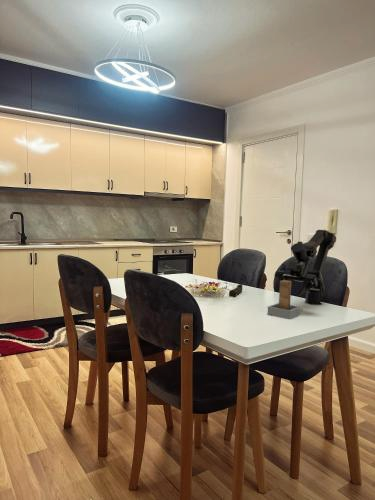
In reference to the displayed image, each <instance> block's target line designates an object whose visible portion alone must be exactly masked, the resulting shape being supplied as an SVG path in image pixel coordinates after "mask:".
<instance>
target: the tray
mask: <svg viewBox="0 0 375 500" xmlns="http://www.w3.org/2000/svg"><path fill="white" fill-rule="evenodd" d="M301 308H302V307H301V306H299V305H291V304H290V310H285V309H280V308H279V302H277V303H275V304H271V305H269V306H267V316H271V317H272V316H273V317H278V318H283V319H288V320H292V319H294V318H296V317H298V316H301V311H302V310H301Z"/></svg>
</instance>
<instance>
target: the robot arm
mask: <svg viewBox="0 0 375 500" xmlns="http://www.w3.org/2000/svg"><path fill="white" fill-rule="evenodd" d="M336 242H337V236H336V235H335V234H334V233H332V232H330V231H328V230H327V229H317V230H316V231H315V233H314V234H313V236H312V237H311V238H310V239H309V240H308V241H307V242H303V241H299V240H298V241H297V242H296V243H294V244H292V245H291V247H290V251H291V253H292V255H293V258H294V260H296V261H288V263H287V266H286V269H287V270H288V273H289V274H286V272H285V271H284V270H276V271H275V272H274V277H275V279H276V281H277V282H278V286H279V287H278V292H280V281H282V280H287V281H295V282H300V283H301V282H302V285H301V287H300V290H299V293H298V296H299V297H300V296H302V295H303V294H305V300H304V302H305V303H307V304H309V305H323V302H322V293H325V289H326V286H325V285H324V278H323V275H322V273H323V270H324V266H325V263H326V260H327V257H328V253H329V251H330V250H332V249H333V248H334V245H335V243H336ZM310 258H315V260H314V263H313V265H312V267H311V268H312V269H311V270H310V271H307V270H308V267H309V266H311V259H310Z"/></svg>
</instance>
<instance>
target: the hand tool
mask: <svg viewBox="0 0 375 500" xmlns="http://www.w3.org/2000/svg"><path fill="white" fill-rule="evenodd" d="M242 292H243V284H242V283H241V284H237V285H236V287H235V288H233V289H230V290H229V291H228V296H229V297H230V298H236V297H237V295H239V294H242Z"/></svg>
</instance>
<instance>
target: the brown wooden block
mask: <svg viewBox="0 0 375 500" xmlns="http://www.w3.org/2000/svg"><path fill="white" fill-rule="evenodd" d="M278 292H279V291H278ZM278 294H279V295H278V303H279V308H280V309H285V310H290V305H291V296H292V295H291V294H292V280H288V279H287V280H282V281H280V292H279V293H278Z"/></svg>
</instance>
